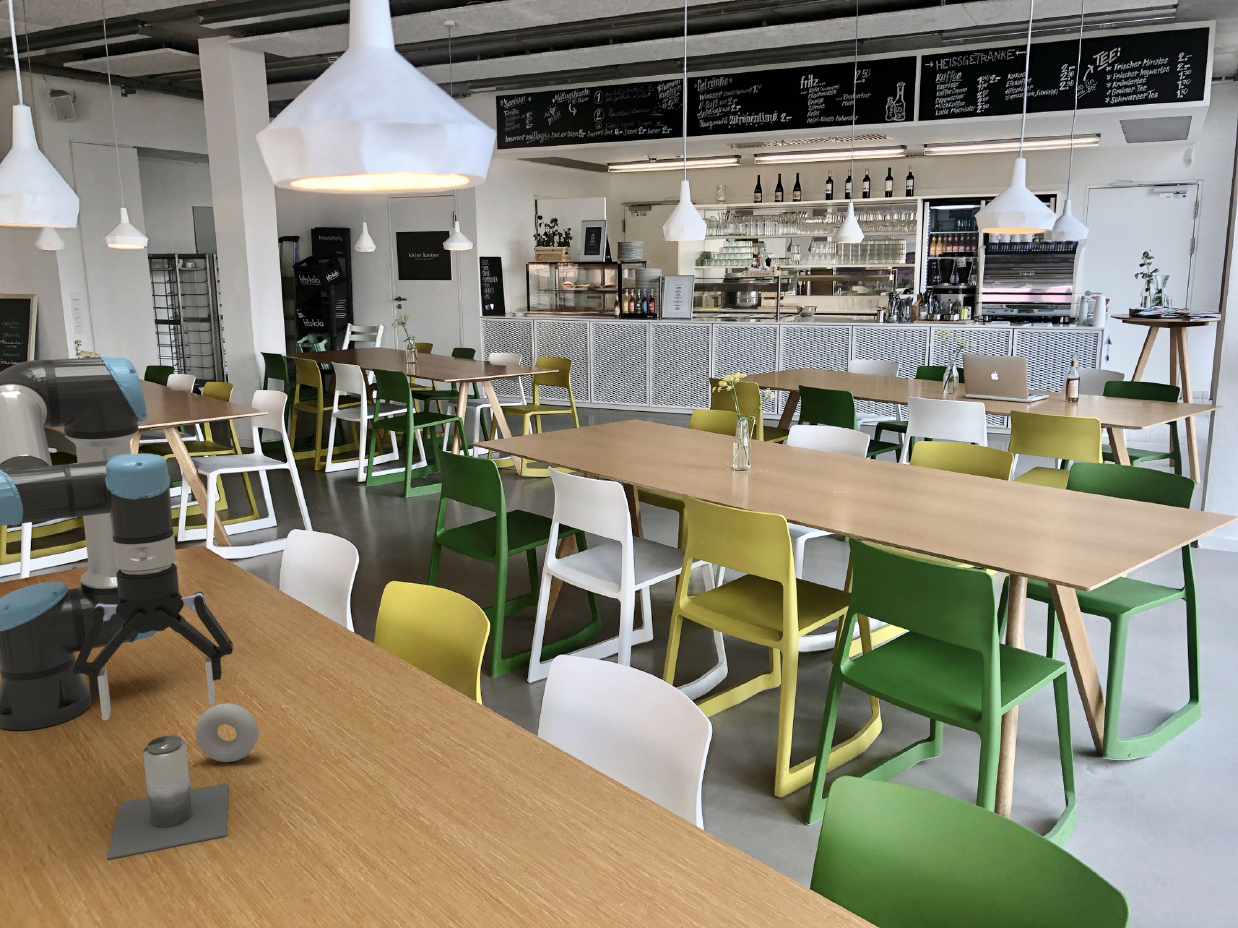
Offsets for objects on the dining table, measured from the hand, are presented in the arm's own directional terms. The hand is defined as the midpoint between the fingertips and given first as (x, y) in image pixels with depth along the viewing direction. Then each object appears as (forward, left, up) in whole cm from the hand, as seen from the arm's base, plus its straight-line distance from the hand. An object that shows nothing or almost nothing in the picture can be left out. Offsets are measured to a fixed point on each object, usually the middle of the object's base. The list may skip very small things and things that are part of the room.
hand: (160, 708), depth 132 cm
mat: (0, 0, -17) cm, 17 cm away
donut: (-15, +8, -18) cm, 24 cm away
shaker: (0, 0, -17) cm, 17 cm away
